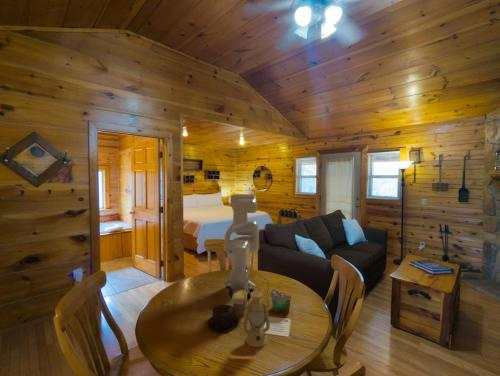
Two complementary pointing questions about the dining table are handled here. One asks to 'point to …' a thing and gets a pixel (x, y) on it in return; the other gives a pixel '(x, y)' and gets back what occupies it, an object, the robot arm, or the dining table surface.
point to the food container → (280, 302)
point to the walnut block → (239, 306)
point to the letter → (278, 326)
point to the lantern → (256, 320)
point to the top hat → (223, 319)
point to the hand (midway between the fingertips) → (239, 298)
